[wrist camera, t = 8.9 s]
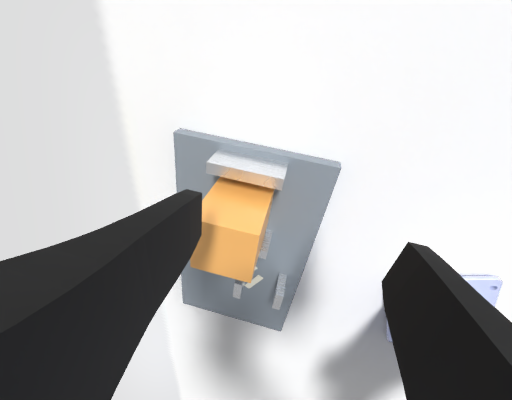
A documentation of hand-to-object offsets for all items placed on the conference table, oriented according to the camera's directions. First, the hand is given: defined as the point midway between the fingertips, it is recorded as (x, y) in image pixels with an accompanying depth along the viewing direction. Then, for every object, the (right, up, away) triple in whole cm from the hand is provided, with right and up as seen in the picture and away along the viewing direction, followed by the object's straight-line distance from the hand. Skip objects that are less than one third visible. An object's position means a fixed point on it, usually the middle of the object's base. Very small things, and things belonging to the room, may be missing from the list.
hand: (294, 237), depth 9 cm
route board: (-3, -3, +15) cm, 15 cm away
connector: (-2, +1, +10) cm, 11 cm away
